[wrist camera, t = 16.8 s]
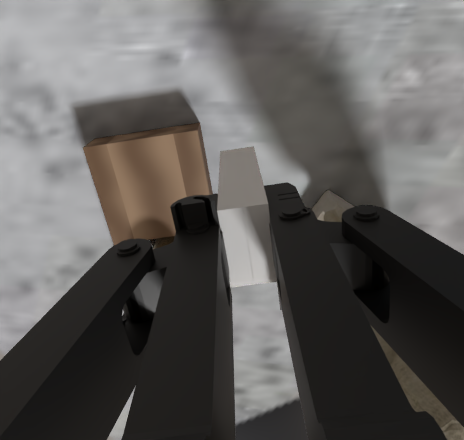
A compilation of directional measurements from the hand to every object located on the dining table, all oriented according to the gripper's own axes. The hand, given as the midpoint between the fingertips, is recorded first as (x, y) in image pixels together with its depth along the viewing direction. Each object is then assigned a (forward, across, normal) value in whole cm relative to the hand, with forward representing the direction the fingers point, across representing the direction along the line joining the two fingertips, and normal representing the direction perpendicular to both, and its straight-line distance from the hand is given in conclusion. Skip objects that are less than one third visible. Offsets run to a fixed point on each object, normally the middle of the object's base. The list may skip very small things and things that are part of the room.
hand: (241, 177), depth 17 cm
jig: (+26, -10, -13) cm, 31 cm away
